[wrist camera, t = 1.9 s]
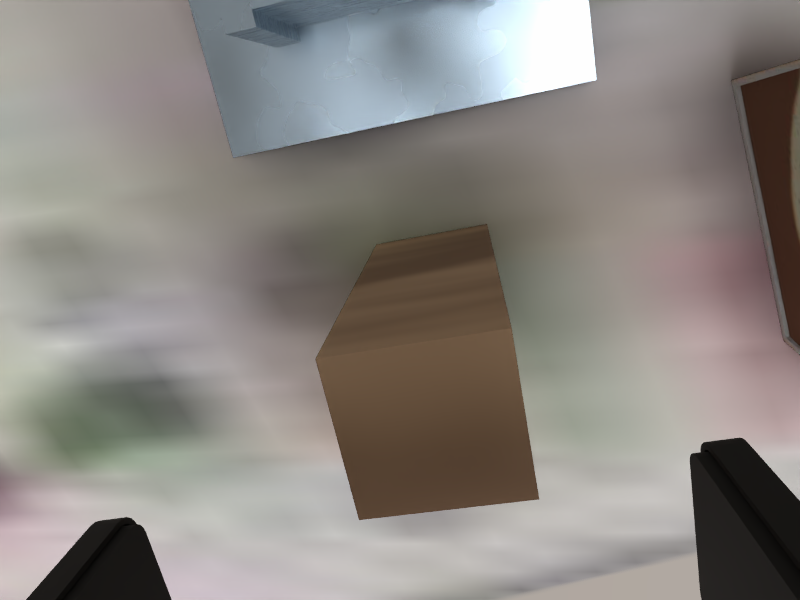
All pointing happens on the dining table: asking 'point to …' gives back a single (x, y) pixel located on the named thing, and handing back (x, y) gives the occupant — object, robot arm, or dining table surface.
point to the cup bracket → (380, 61)
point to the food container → (776, 178)
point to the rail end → (428, 381)
